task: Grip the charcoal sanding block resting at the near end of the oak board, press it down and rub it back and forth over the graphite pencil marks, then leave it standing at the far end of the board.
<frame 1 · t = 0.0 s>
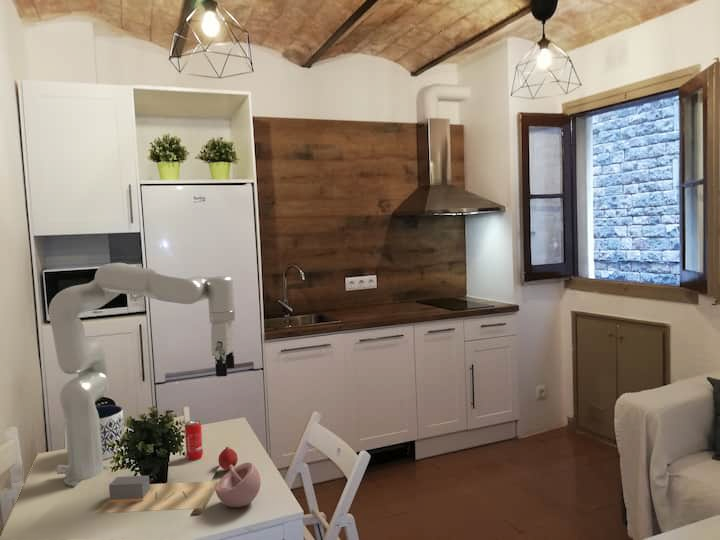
hand: (225, 372, 169), 31 cm above the table, fingers open, 9 cm apart
mortar and pestle: (239, 505, 149), on the table
beverage can: (195, 458, 183), on the table
oak board: (159, 501, 153), on the table
pomegranate: (228, 471, 171), on the table
planter: (101, 453, 191), on the table
sanding block: (130, 497, 153), point 1 cm above the table, touching oak board
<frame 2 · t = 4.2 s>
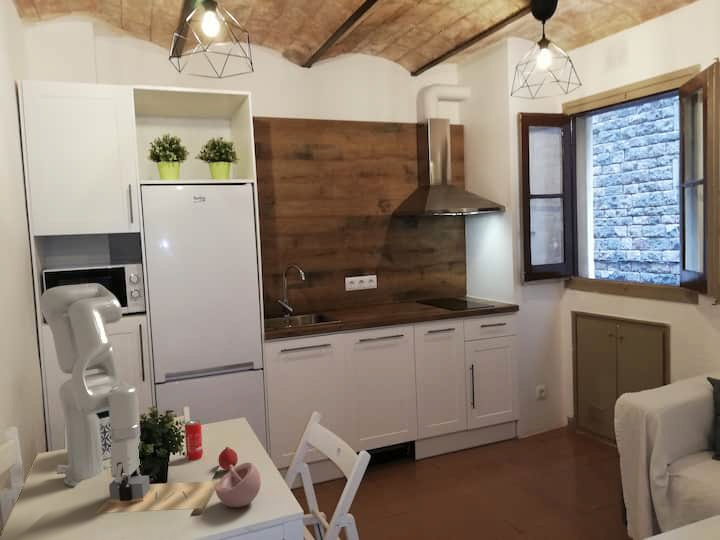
hand: (130, 494, 153), 2 cm above the table, fingers closed on sanding block, 5 cm apart
sanding block: (130, 497, 153), point 2 cm above the table, touching gripper, oak board
everything else where it was.
when the fingers open (2 cm above the table, at t = 14.3 s): sanding block stays where it is, resting on oak board.
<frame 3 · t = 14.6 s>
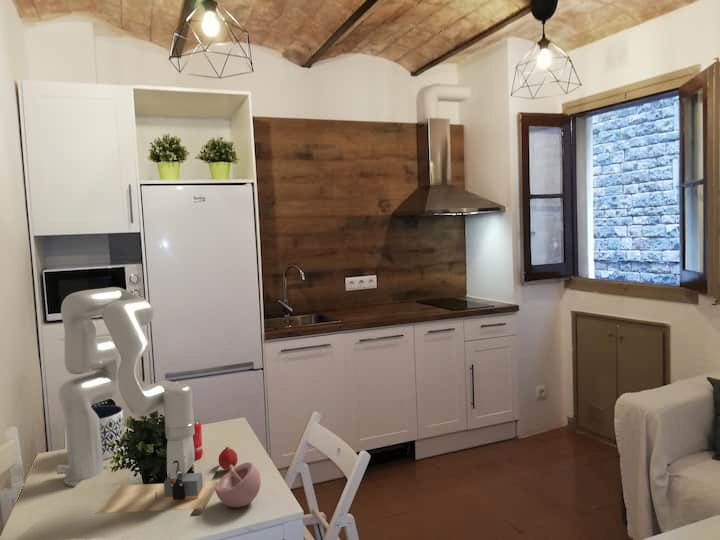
hand: (184, 491, 153), 3 cm above the table, fingers open, 8 cm apart
sanding block: (184, 495, 153), point 2 cm above the table, touching oak board
everything else where it was.
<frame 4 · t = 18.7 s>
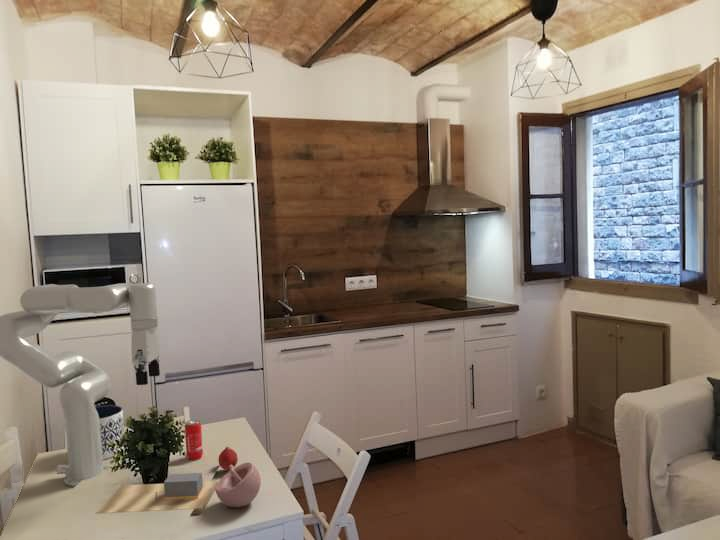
hand: (148, 380, 167), 30 cm above the table, fingers open, 9 cm apart
nothing on the table moved.
at the end: sanding block 0.1 cm from the target spot on the oak board, point 1.5 cm above the oak board's base; sanding block tilted 0°; the gripper is holding nothing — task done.
